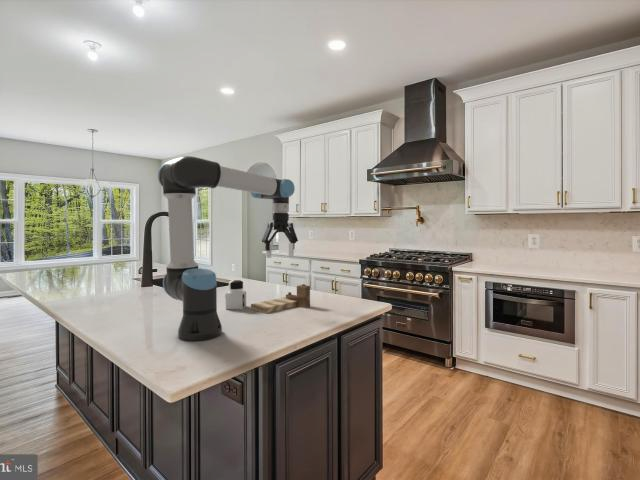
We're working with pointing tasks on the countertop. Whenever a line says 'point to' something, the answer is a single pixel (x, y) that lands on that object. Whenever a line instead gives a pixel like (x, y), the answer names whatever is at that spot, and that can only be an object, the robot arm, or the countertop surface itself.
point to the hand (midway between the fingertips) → (280, 257)
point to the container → (236, 296)
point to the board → (274, 305)
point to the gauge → (301, 296)
